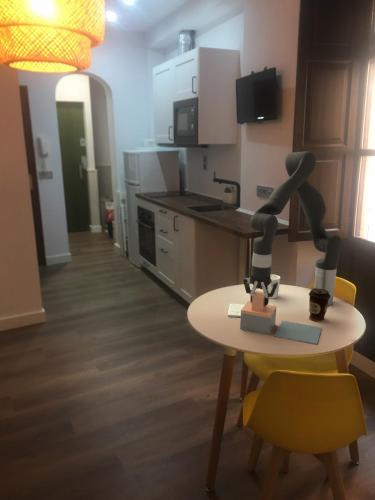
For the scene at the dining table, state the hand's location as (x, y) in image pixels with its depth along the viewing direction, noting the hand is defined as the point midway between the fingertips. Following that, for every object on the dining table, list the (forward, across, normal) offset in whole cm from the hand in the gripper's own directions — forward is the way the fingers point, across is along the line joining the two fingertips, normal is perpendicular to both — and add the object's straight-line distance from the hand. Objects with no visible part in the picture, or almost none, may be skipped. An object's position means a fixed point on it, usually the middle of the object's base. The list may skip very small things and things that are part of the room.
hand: (259, 304), depth 166 cm
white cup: (+10, +3, -36) cm, 38 cm away
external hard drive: (+11, +12, -11) cm, 19 cm away
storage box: (+10, 0, 0) cm, 10 cm away
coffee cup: (+10, -21, -18) cm, 29 cm away
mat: (+10, -16, -2) cm, 19 cm away
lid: (+4, 0, 0) cm, 4 cm away
